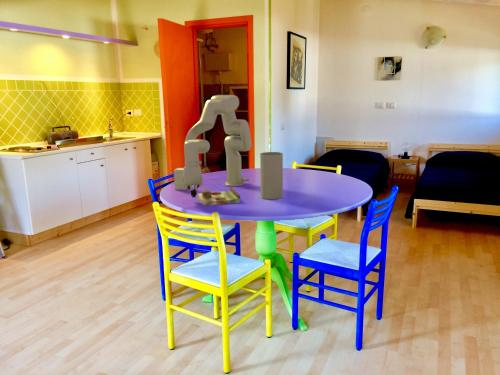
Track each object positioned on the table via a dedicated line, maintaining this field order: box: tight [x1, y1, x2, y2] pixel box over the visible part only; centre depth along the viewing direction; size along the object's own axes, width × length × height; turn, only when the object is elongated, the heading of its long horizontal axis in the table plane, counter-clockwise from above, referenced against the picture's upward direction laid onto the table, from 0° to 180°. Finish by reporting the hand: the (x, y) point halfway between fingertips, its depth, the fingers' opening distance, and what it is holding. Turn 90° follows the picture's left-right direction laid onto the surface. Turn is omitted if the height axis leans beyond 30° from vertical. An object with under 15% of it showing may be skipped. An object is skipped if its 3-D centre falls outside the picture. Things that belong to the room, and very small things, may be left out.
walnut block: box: [201, 189, 212, 199], centre depth 230 cm, size 4×4×4 cm
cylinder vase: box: [259, 151, 284, 201], centre depth 233 cm, size 12×12×25 cm
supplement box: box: [173, 167, 188, 191], centre depth 259 cm, size 7×7×13 cm
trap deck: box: [197, 187, 241, 207], centre depth 232 cm, size 20×20×4 cm
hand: (193, 196), depth 228 cm, fingers closed
